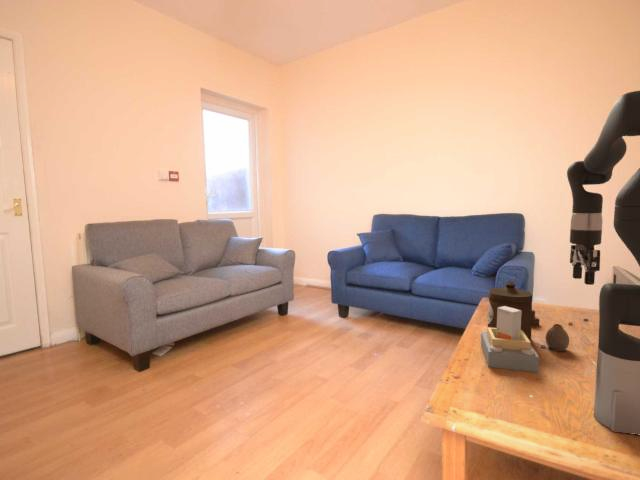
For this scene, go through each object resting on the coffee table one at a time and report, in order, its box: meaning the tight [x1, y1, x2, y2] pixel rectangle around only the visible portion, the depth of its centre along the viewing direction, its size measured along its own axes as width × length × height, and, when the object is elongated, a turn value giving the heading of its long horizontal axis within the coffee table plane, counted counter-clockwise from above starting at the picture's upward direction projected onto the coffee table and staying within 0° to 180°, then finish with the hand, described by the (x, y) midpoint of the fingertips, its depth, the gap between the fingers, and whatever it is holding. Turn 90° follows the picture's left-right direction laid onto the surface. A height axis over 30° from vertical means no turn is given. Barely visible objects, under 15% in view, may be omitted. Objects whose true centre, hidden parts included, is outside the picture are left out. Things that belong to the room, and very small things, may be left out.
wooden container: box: [487, 280, 533, 343], centre depth 132 cm, size 15×15×22 cm
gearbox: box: [480, 326, 540, 373], centre depth 116 cm, size 18×14×8 cm
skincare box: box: [496, 306, 522, 340], centre depth 115 cm, size 6×4×12 cm
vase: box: [545, 323, 570, 352], centre depth 121 cm, size 7×7×9 cm
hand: (582, 281), depth 105 cm, fingers open, 8 cm apart
